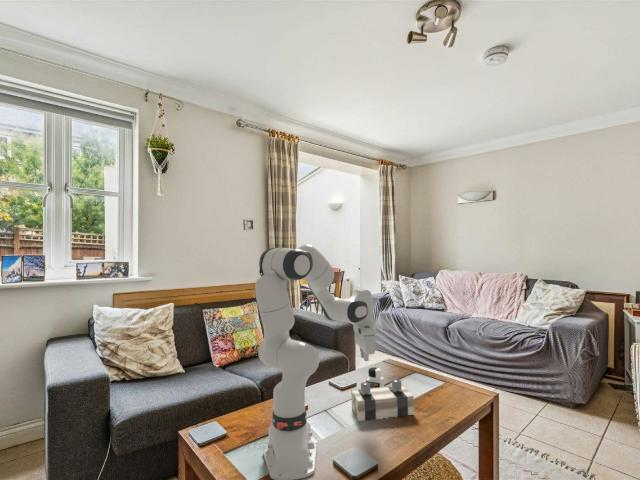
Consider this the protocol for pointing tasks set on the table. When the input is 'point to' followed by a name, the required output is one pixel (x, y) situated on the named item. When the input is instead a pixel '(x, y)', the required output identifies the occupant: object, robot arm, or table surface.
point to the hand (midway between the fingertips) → (364, 359)
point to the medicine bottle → (375, 378)
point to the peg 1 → (365, 389)
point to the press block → (382, 403)
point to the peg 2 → (396, 386)
